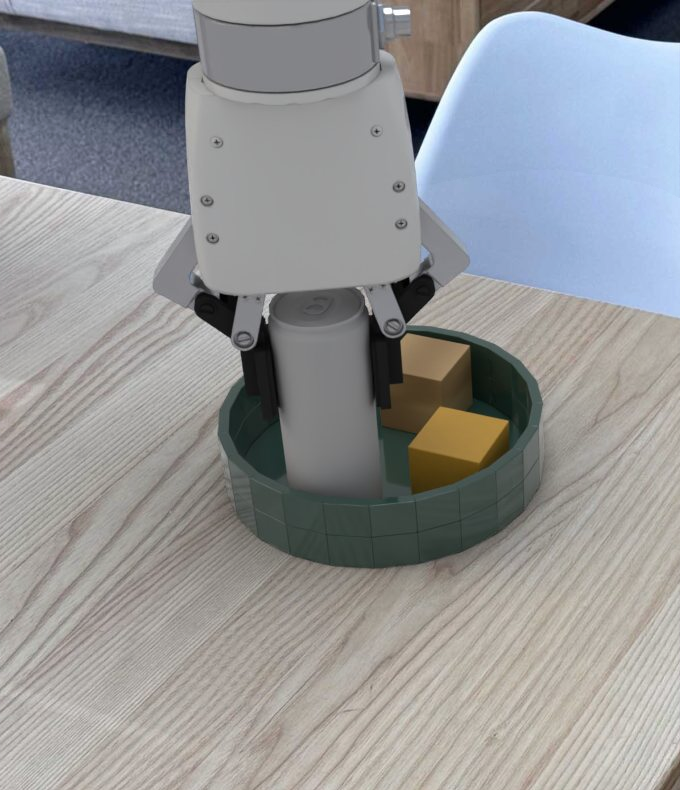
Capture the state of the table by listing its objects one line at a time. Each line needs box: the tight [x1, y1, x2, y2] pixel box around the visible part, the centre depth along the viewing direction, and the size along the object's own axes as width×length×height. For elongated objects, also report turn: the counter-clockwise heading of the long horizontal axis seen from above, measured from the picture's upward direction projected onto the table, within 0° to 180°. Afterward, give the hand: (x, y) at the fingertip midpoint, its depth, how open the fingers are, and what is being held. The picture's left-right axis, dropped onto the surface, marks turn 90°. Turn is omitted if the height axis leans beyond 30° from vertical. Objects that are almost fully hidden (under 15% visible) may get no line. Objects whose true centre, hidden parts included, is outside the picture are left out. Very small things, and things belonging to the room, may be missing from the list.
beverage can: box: [267, 287, 383, 499], centre depth 69 cm, size 5×5×12 cm
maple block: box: [380, 333, 473, 434], centre depth 80 cm, size 4×4×4 cm
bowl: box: [216, 324, 545, 569], centre depth 76 cm, size 17×17×4 cm
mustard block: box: [408, 407, 510, 495], centre depth 73 cm, size 4×4×4 cm
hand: (326, 396), depth 69 cm, fingers closed on beverage can, 4 cm apart
